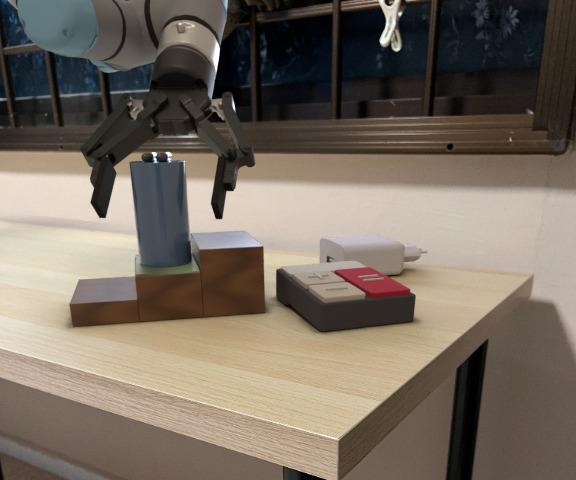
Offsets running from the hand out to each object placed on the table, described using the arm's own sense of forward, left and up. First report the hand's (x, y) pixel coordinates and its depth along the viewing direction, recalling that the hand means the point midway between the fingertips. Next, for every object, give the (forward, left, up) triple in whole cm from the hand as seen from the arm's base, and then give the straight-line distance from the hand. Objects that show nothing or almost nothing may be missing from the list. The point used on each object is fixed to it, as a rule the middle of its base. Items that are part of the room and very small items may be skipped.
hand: (156, 211), depth 67 cm
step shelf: (0, +1, -11) cm, 11 cm away
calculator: (+19, +8, -11) cm, 23 cm away
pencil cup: (0, +1, -6) cm, 6 cm away
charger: (+16, +30, -11) cm, 36 cm away
